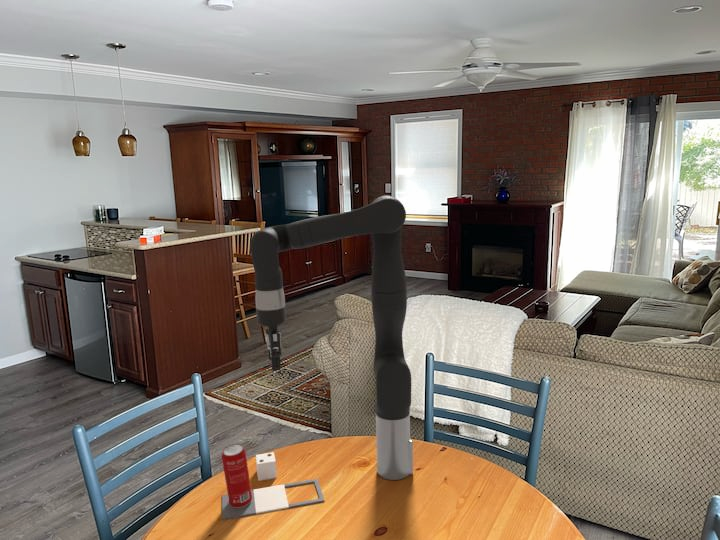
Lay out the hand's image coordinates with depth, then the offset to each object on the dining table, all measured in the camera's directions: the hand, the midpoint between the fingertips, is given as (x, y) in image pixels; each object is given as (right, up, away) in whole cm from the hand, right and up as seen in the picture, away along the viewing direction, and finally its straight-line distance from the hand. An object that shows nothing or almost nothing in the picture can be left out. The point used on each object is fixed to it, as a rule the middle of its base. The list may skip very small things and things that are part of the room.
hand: (274, 364), depth 141 cm
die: (-3, -32, +6) cm, 32 cm away
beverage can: (-8, -34, -7) cm, 35 cm away
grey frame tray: (0, -33, -6) cm, 34 cm away
